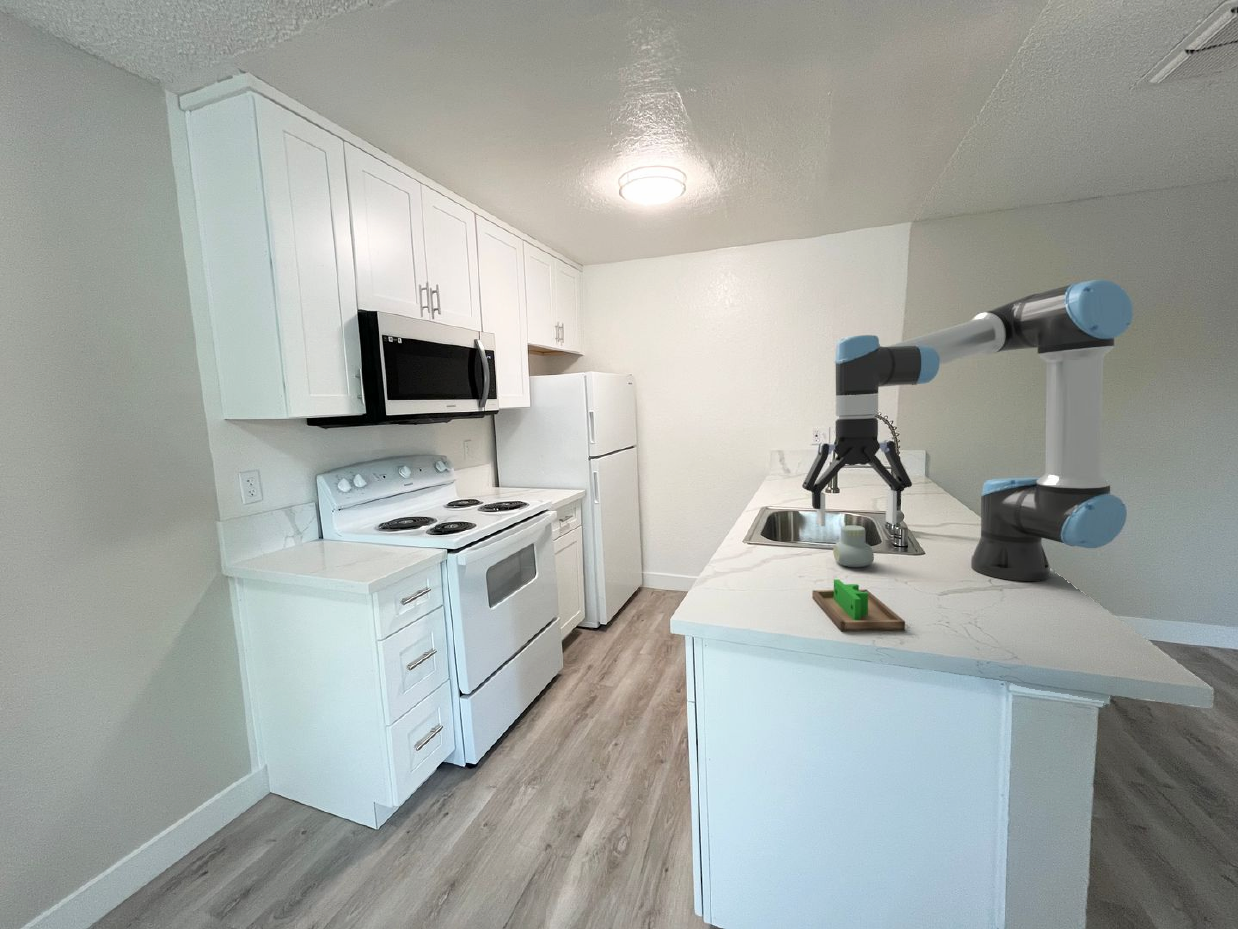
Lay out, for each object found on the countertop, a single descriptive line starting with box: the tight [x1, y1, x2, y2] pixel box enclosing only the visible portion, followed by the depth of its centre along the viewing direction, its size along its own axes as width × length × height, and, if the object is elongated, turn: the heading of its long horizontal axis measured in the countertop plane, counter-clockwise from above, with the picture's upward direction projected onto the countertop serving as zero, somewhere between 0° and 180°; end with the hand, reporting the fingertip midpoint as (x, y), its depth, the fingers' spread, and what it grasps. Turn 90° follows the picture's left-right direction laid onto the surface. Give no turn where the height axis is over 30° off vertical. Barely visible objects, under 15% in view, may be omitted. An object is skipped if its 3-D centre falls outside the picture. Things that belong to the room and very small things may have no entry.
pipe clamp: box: [833, 579, 868, 620], centre depth 101 cm, size 11×4×5 cm, turn 177°
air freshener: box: [832, 524, 875, 568], centre depth 131 cm, size 11×8×10 cm
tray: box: [811, 589, 906, 632], centre depth 101 cm, size 12×17×2 cm
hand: (855, 523), depth 99 cm, fingers open, 13 cm apart
